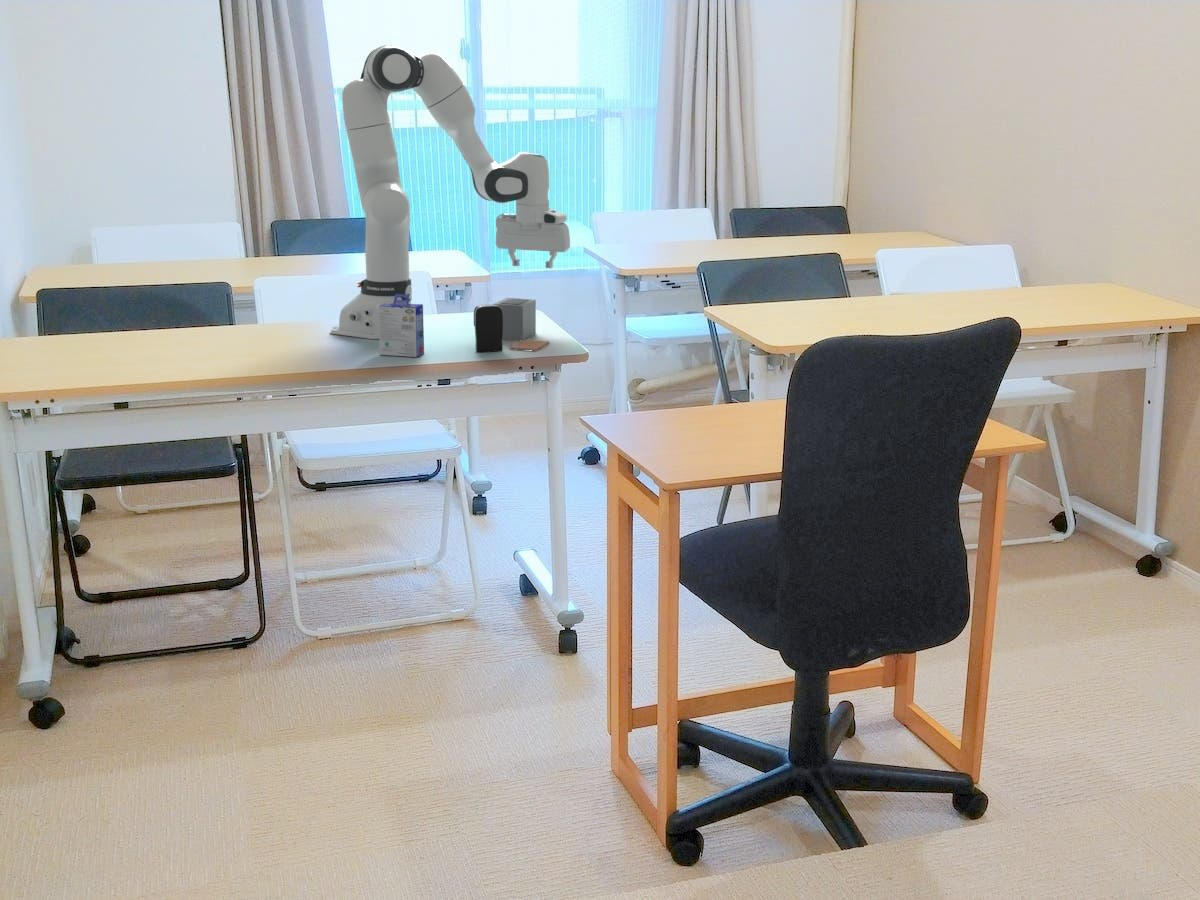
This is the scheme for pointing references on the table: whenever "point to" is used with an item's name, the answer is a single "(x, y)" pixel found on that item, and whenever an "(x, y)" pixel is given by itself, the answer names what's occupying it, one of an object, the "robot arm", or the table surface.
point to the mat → (529, 345)
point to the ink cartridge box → (401, 328)
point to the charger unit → (518, 318)
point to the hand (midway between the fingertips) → (532, 267)
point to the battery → (488, 328)
